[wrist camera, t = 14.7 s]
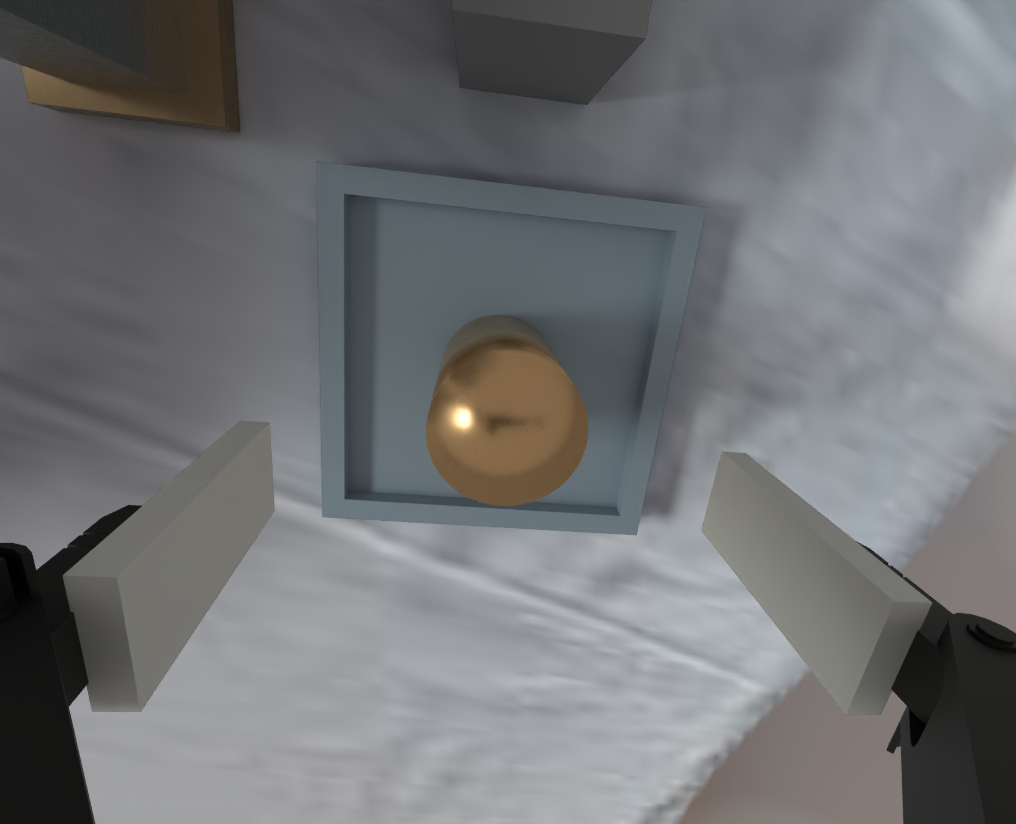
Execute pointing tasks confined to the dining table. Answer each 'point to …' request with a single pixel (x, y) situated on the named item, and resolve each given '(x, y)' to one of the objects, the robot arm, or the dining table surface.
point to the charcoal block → (546, 45)
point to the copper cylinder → (504, 414)
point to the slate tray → (483, 292)
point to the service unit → (127, 58)
